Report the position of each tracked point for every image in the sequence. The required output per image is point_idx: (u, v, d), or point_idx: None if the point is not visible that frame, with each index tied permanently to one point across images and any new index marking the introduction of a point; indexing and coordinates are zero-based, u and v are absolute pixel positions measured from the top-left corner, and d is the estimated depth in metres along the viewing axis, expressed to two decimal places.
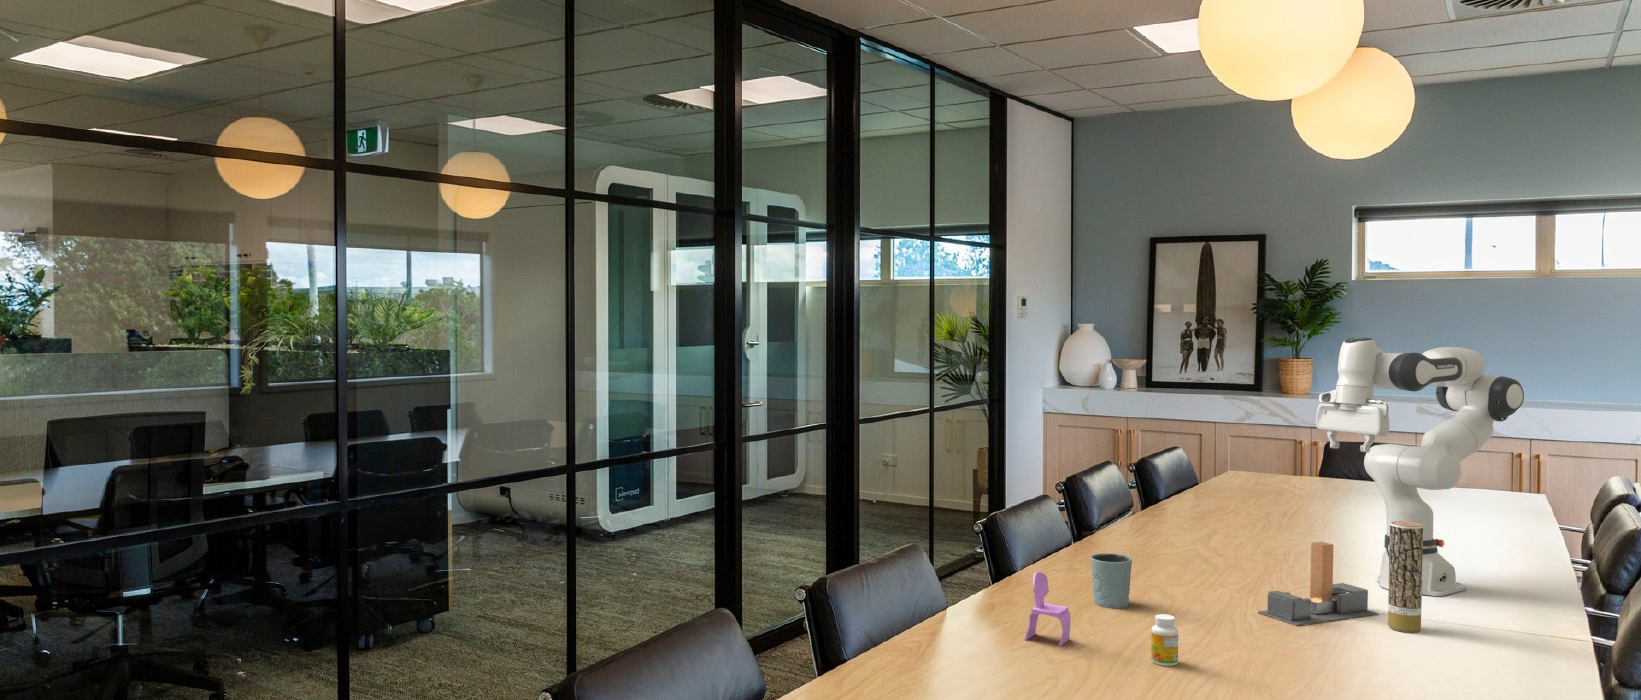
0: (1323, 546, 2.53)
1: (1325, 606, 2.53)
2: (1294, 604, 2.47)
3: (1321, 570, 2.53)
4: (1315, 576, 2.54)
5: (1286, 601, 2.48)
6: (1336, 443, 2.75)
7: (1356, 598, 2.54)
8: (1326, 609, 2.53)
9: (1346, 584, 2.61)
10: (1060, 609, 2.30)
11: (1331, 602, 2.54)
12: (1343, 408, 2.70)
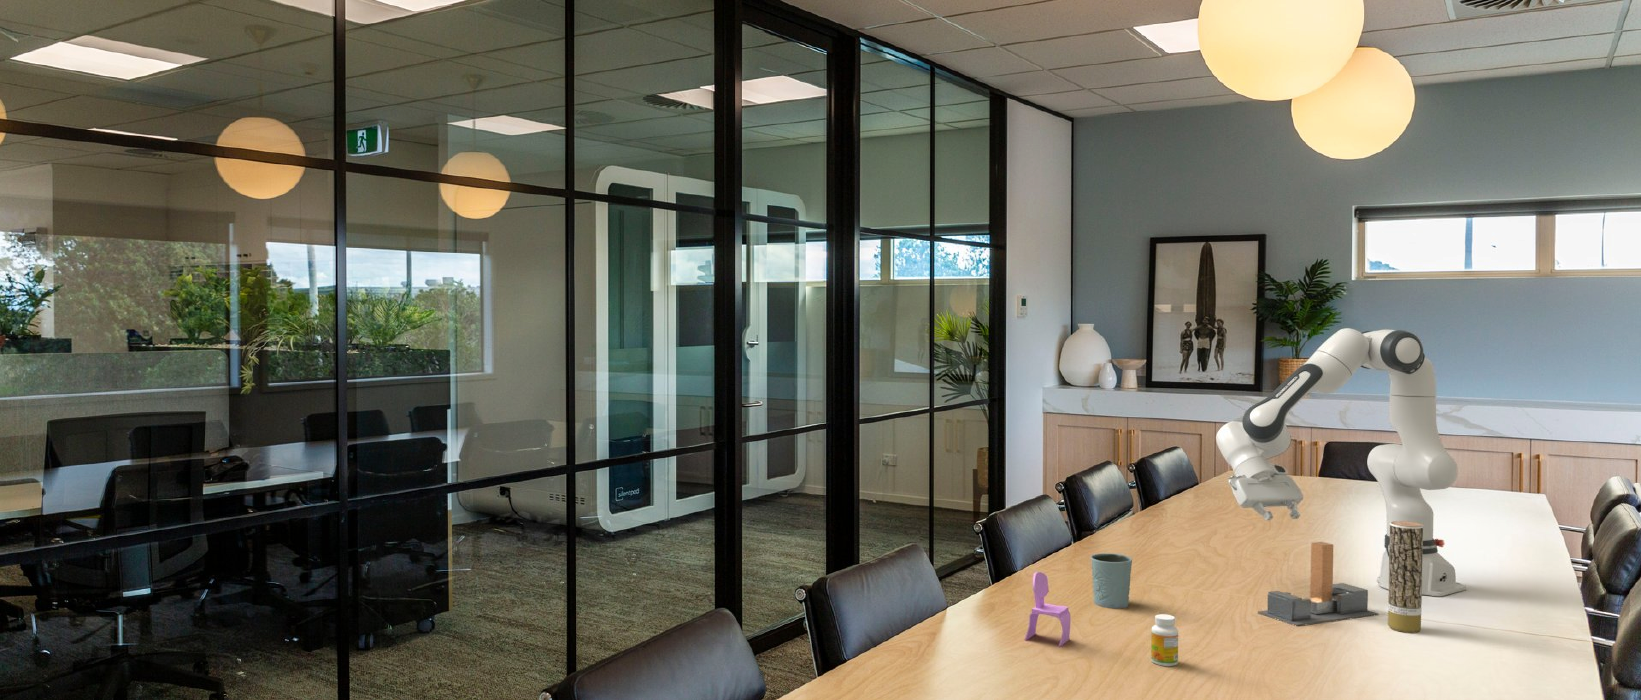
0: (1323, 546, 2.53)
1: (1325, 606, 2.53)
2: (1294, 604, 2.47)
3: (1321, 570, 2.53)
4: (1315, 576, 2.54)
5: (1286, 601, 2.48)
6: (1291, 513, 2.68)
7: (1356, 598, 2.54)
8: (1326, 609, 2.53)
9: (1346, 584, 2.61)
10: (1060, 609, 2.30)
11: (1331, 602, 2.54)
12: None
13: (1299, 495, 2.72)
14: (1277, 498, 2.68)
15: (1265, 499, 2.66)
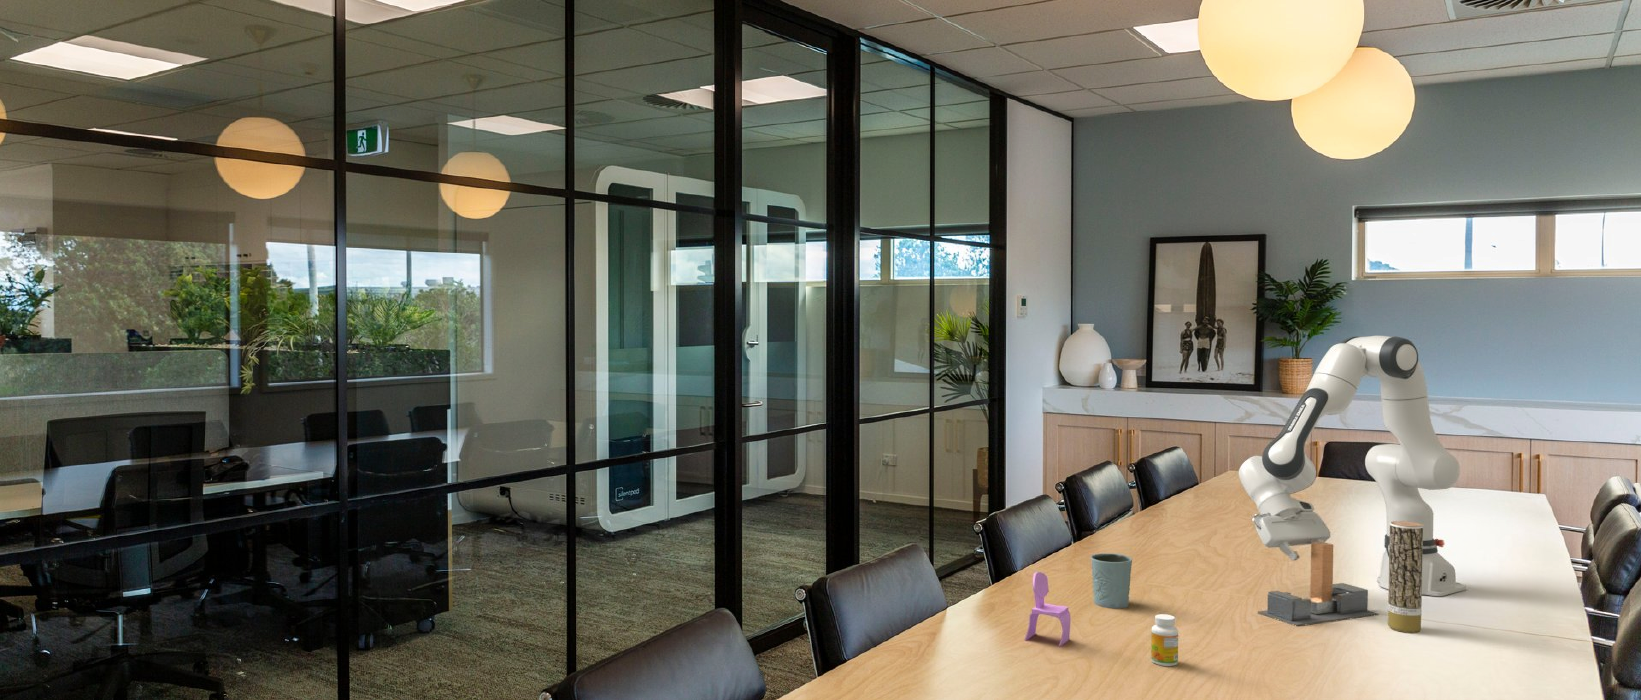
0: (1323, 546, 2.53)
1: (1325, 606, 2.53)
2: (1294, 604, 2.47)
3: (1321, 570, 2.53)
4: (1315, 576, 2.54)
5: (1286, 601, 2.48)
6: None
7: (1356, 598, 2.54)
8: (1326, 609, 2.53)
9: (1346, 584, 2.61)
10: (1060, 609, 2.30)
11: (1331, 602, 2.54)
12: None
13: (1327, 532, 2.63)
14: (1303, 537, 2.60)
15: (1291, 538, 2.58)
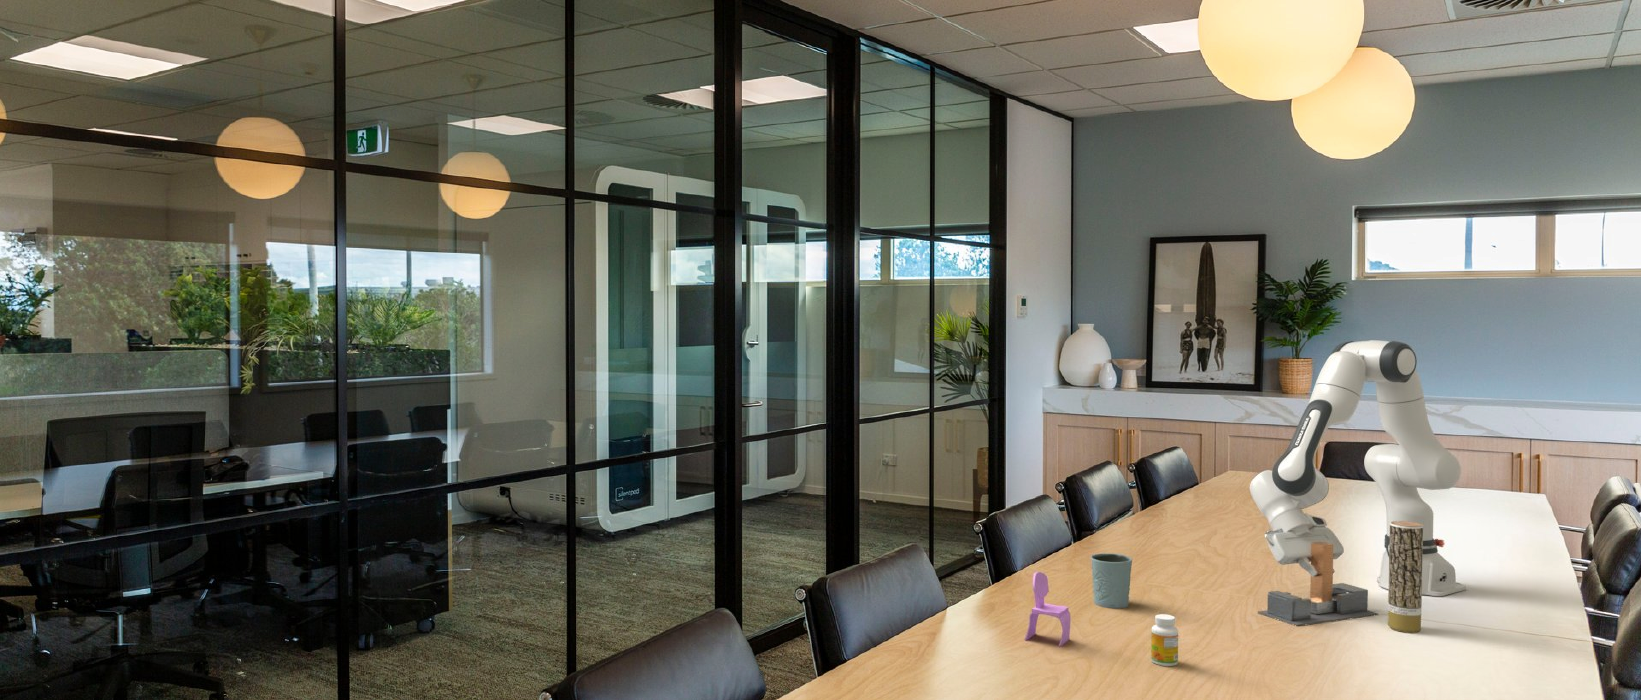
0: (1323, 546, 2.53)
1: (1325, 606, 2.53)
2: (1294, 604, 2.47)
3: (1321, 570, 2.53)
4: None
5: (1286, 601, 2.48)
6: None
7: (1356, 598, 2.54)
8: (1326, 609, 2.53)
9: (1346, 584, 2.61)
10: (1060, 609, 2.30)
11: (1331, 602, 2.54)
12: None
13: (1340, 548, 2.60)
14: None
15: (1304, 555, 2.55)
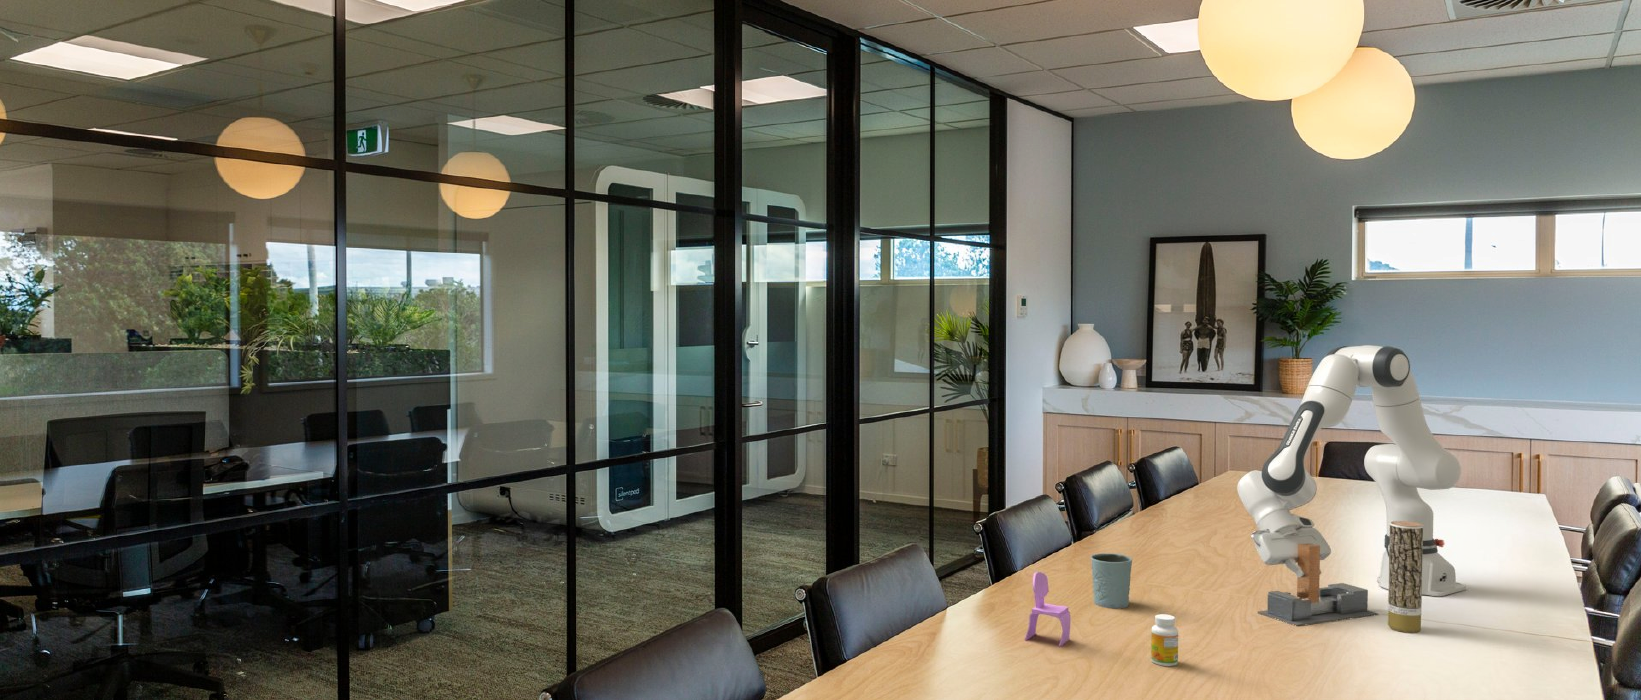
0: (1310, 547, 2.51)
1: (1312, 608, 2.51)
2: (1294, 604, 2.47)
3: (1308, 571, 2.51)
4: (1302, 578, 2.53)
5: (1286, 601, 2.48)
6: None
7: (1356, 598, 2.54)
8: (1313, 611, 2.52)
9: (1346, 584, 2.61)
10: (1060, 609, 2.30)
11: (1318, 603, 2.52)
12: None
13: (1327, 549, 2.58)
14: None
15: (1291, 556, 2.53)
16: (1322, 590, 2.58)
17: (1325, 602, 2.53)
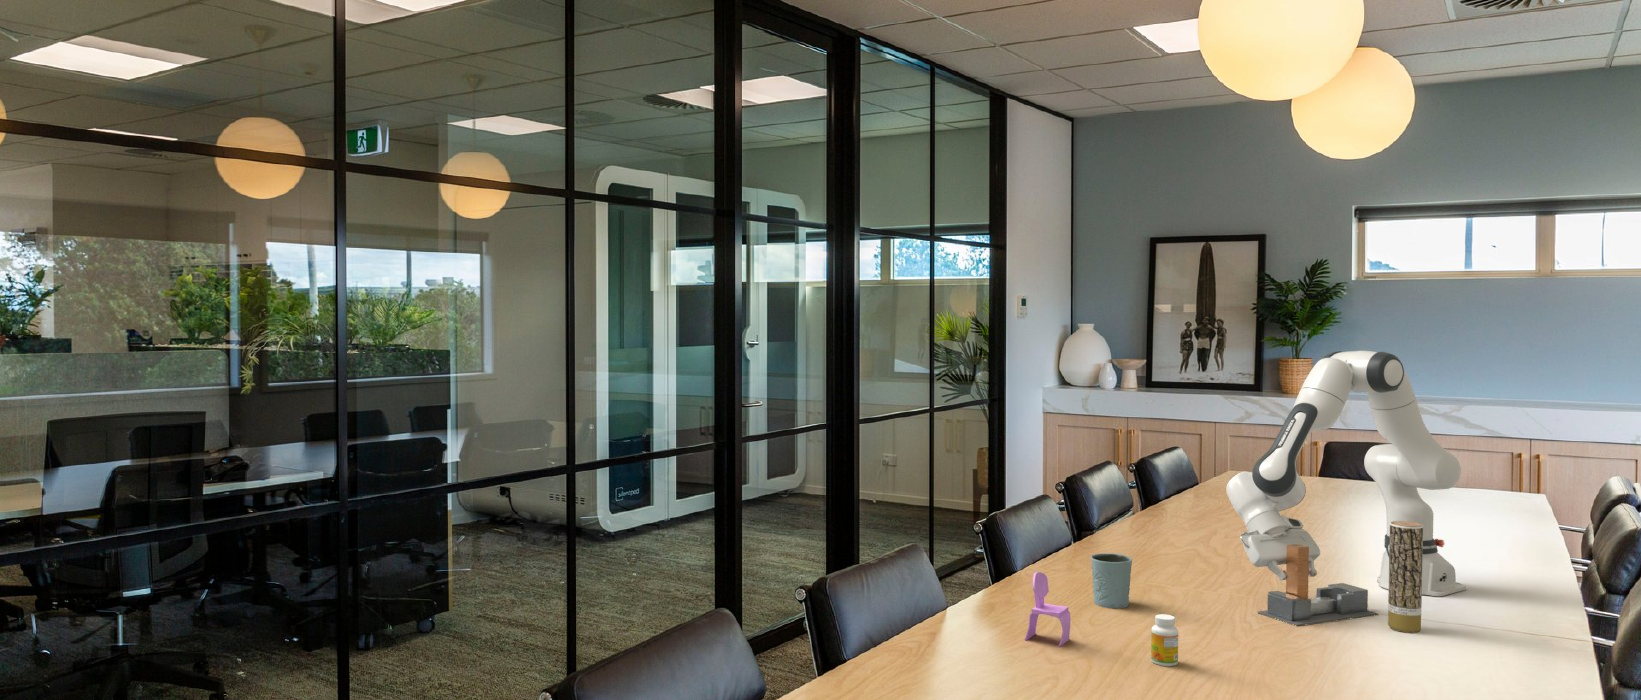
0: (1298, 548, 2.49)
1: None
2: (1294, 604, 2.47)
3: (1296, 573, 2.50)
4: (1290, 579, 2.51)
5: (1286, 601, 2.48)
6: None
7: (1356, 598, 2.54)
8: None
9: (1346, 584, 2.61)
10: (1060, 609, 2.30)
11: None
12: None
13: (1316, 550, 2.57)
14: None
15: (1279, 557, 2.52)
16: (1322, 590, 2.58)
17: (1314, 603, 2.52)
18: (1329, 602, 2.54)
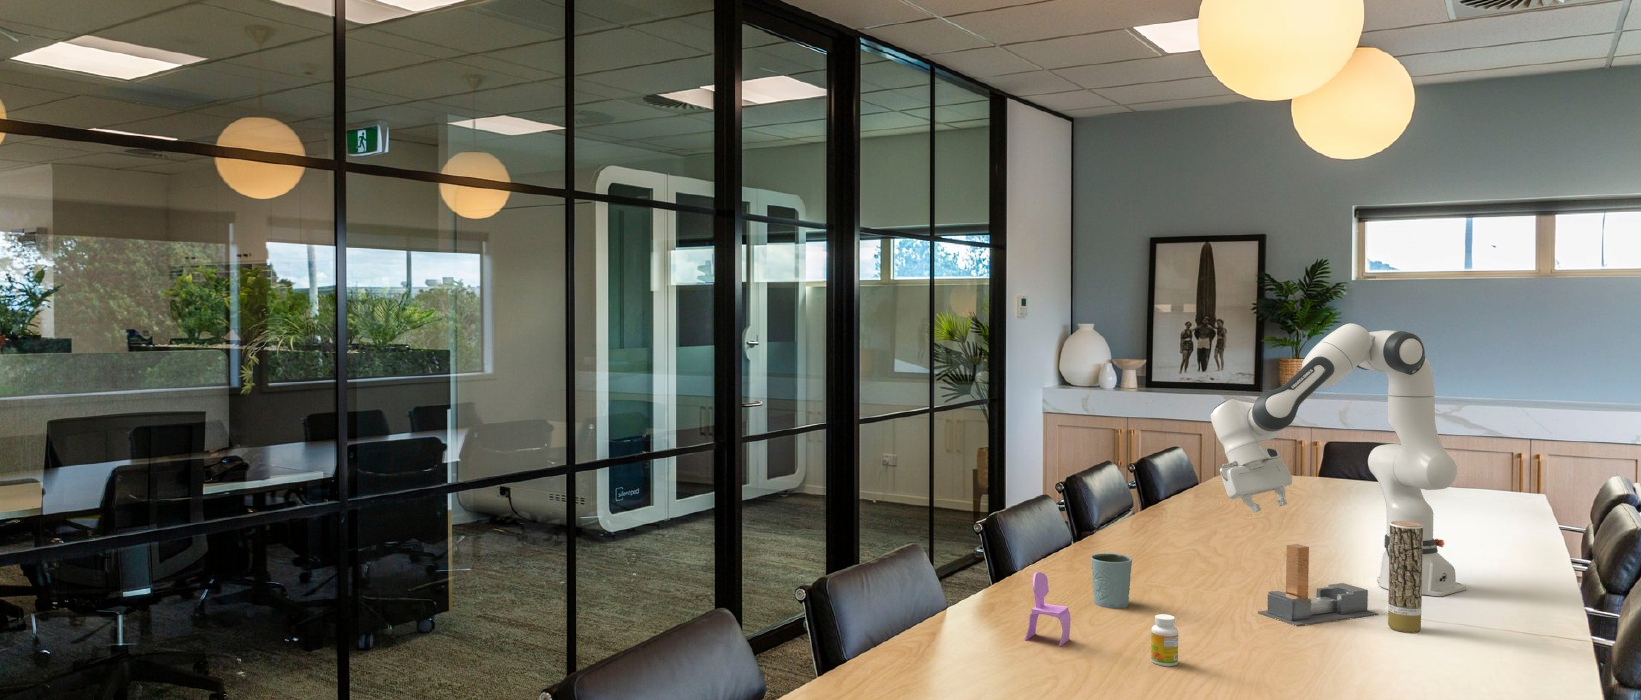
0: (1298, 548, 2.49)
1: None
2: (1294, 604, 2.47)
3: (1296, 573, 2.50)
4: (1290, 579, 2.51)
5: (1286, 601, 2.48)
6: (1278, 501, 2.67)
7: (1356, 598, 2.54)
8: None
9: (1346, 584, 2.61)
10: (1060, 609, 2.30)
11: None
12: None
13: (1289, 480, 2.69)
14: (1266, 487, 2.65)
15: (1255, 491, 2.64)
16: (1322, 590, 2.58)
17: (1314, 603, 2.52)
18: (1329, 602, 2.54)
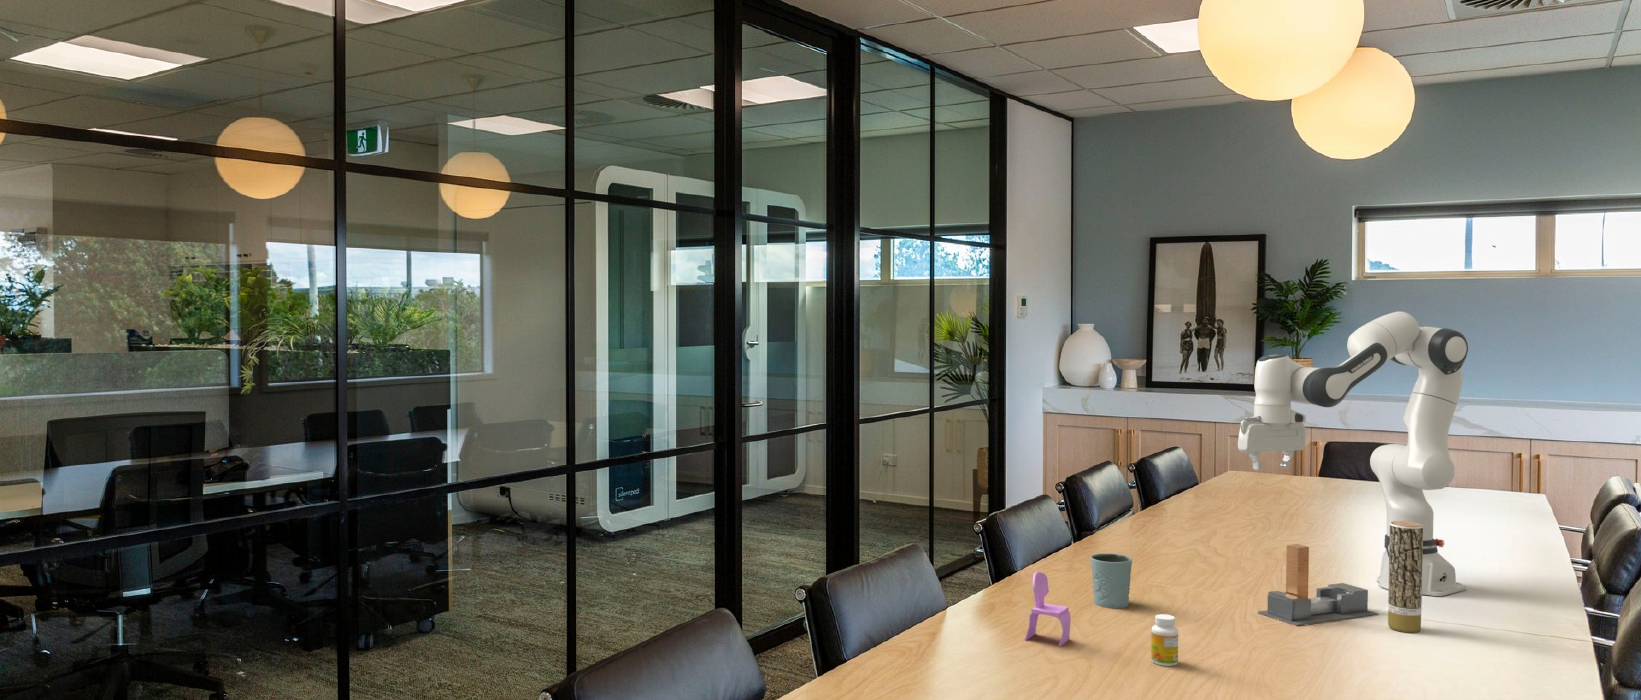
0: (1298, 548, 2.49)
1: None
2: (1294, 604, 2.47)
3: (1296, 573, 2.50)
4: (1290, 579, 2.51)
5: (1286, 601, 2.48)
6: (1282, 462, 2.71)
7: (1356, 598, 2.54)
8: None
9: (1346, 584, 2.61)
10: (1060, 609, 2.30)
11: None
12: None
13: (1301, 446, 2.70)
14: (1277, 450, 2.67)
15: (1264, 451, 2.66)
16: (1322, 590, 2.58)
17: (1314, 603, 2.52)
18: (1329, 602, 2.54)
